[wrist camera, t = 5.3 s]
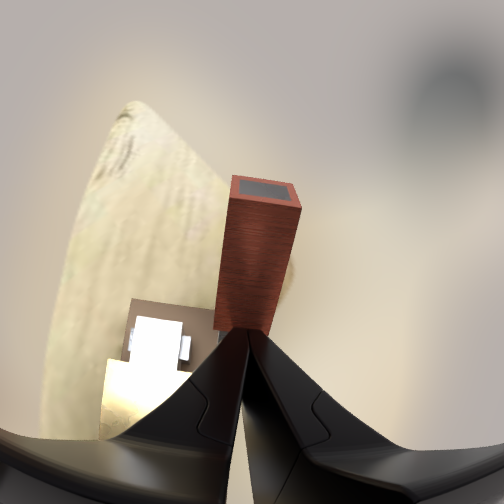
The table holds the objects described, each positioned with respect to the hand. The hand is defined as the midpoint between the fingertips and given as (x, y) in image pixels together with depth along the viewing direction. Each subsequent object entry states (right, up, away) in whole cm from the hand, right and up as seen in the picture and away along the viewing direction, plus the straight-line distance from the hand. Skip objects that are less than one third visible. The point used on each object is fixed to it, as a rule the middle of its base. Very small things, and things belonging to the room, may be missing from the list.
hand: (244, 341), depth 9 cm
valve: (-5, -7, +8) cm, 12 cm away
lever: (-1, -5, +4) cm, 7 cm away
